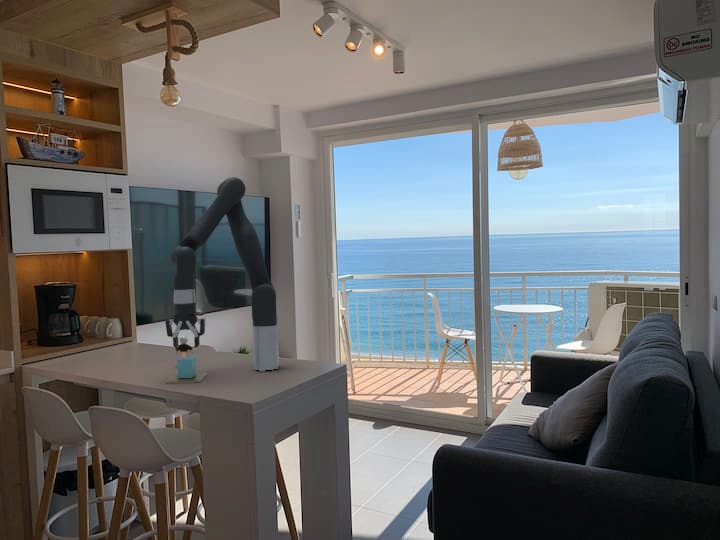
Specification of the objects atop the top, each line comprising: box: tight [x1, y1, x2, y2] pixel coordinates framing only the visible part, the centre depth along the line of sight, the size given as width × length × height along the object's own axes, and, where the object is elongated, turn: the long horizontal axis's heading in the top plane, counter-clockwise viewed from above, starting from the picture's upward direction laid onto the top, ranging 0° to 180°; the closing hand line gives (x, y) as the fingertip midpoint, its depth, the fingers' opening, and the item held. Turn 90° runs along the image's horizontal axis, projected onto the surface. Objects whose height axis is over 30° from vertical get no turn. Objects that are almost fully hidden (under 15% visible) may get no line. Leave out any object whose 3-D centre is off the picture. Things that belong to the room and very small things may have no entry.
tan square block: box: [165, 372, 209, 384], centre depth 192 cm, size 12×12×7 cm
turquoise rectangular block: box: [176, 356, 197, 378], centre depth 192 cm, size 5×5×7 cm
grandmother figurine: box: [174, 335, 195, 359], centre depth 214 cm, size 8×4×13 cm, turn 105°
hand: (186, 347), depth 192 cm, fingers open, 6 cm apart
